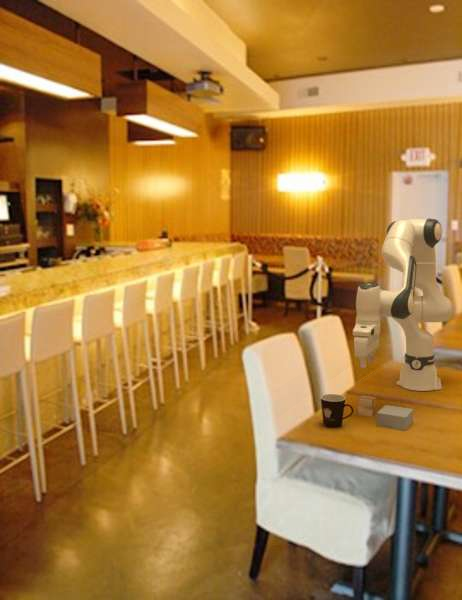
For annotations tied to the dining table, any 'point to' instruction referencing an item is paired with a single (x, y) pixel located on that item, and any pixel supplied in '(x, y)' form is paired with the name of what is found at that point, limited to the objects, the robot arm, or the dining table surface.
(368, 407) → the oak cube
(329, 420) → the coffee mug
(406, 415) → the block
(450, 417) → the dining table surface
